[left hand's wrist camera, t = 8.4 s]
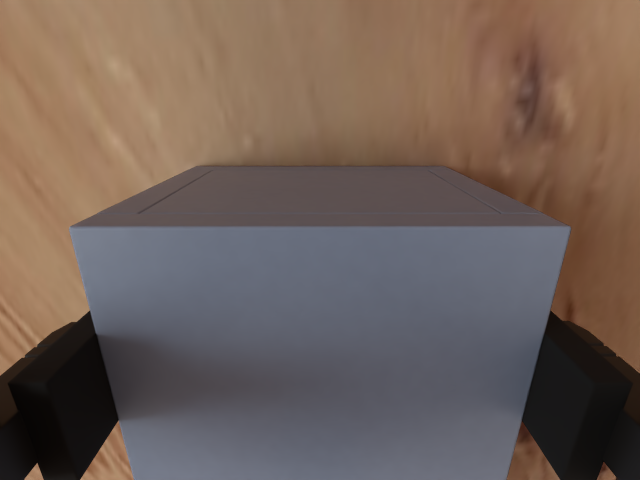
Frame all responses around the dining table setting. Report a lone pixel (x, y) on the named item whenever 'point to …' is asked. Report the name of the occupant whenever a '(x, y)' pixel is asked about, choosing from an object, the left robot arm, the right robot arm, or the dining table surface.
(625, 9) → the dining table surface
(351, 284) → the cabinet
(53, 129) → the dining table surface
